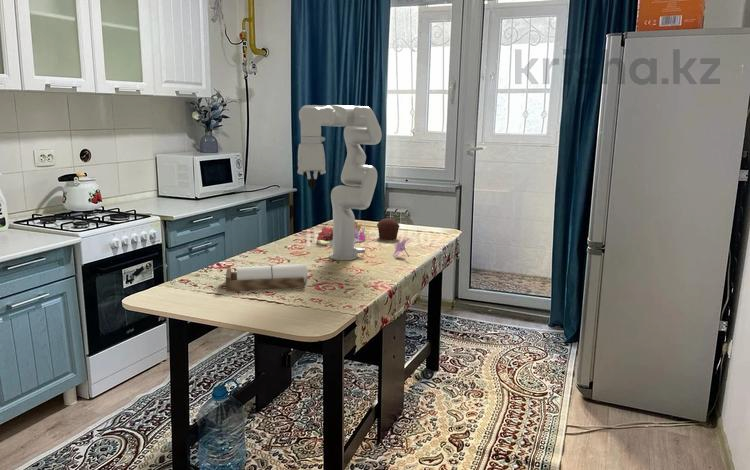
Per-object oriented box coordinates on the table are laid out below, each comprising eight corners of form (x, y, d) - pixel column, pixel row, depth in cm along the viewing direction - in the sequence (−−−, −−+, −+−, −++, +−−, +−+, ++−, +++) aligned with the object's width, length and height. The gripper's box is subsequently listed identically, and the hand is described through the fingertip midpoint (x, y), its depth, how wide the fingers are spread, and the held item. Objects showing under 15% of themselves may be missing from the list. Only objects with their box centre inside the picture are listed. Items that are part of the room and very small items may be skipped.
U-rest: (301, 278, 217) (301, 265, 216) (304, 287, 205) (304, 274, 204) (227, 280, 211) (227, 268, 210) (226, 291, 200) (225, 277, 198)
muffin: (403, 238, 287) (404, 218, 285) (392, 242, 278) (392, 222, 275) (383, 234, 293) (384, 215, 291) (371, 238, 284) (372, 219, 282)
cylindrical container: (307, 269, 206) (236, 272, 200) (306, 286, 209) (237, 290, 203) (304, 260, 212) (236, 263, 206) (304, 277, 215) (237, 280, 209)
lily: (396, 254, 259) (388, 239, 255) (417, 247, 256) (410, 231, 252) (394, 267, 249) (385, 252, 246) (416, 260, 246) (408, 244, 242)
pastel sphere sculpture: (320, 234, 292) (320, 216, 290) (366, 235, 292) (366, 218, 290) (314, 246, 268) (314, 227, 266) (364, 247, 267) (364, 228, 265)
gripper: (329, 139, 216) (330, 186, 220) (290, 139, 213) (291, 187, 217) (332, 141, 208) (332, 190, 213) (291, 141, 205) (293, 191, 210)
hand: (312, 188), depth 215 cm, fingers closed
